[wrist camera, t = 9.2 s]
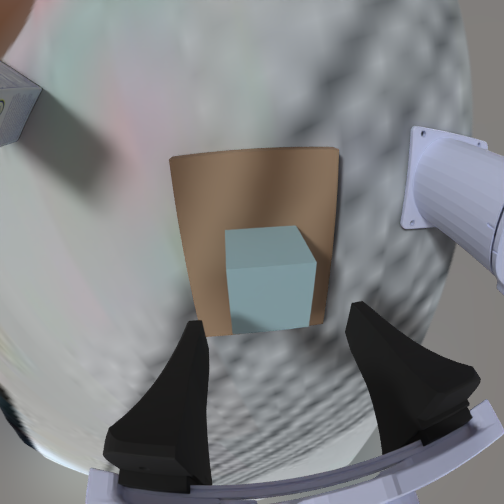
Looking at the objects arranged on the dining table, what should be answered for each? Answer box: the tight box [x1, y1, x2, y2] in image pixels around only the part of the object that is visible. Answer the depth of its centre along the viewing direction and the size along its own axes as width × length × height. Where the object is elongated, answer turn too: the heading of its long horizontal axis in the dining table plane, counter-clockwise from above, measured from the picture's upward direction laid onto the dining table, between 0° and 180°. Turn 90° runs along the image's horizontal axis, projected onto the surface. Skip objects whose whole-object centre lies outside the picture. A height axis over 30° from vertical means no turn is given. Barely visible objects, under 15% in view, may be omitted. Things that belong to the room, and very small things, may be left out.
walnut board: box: [169, 147, 339, 337], centre depth 19 cm, size 10×14×1 cm
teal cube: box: [225, 226, 317, 334], centre depth 17 cm, size 4×4×4 cm
